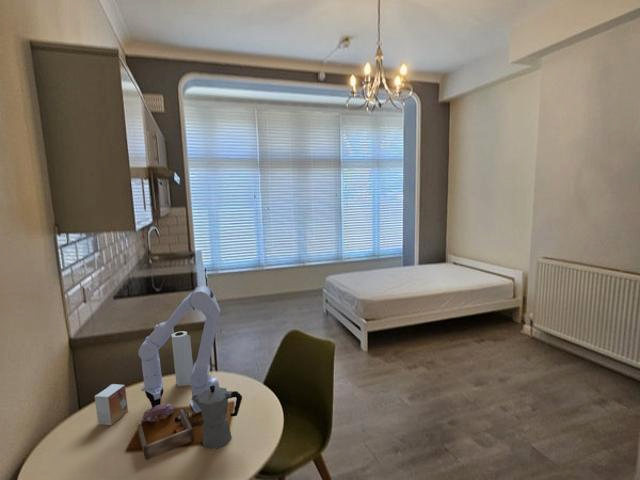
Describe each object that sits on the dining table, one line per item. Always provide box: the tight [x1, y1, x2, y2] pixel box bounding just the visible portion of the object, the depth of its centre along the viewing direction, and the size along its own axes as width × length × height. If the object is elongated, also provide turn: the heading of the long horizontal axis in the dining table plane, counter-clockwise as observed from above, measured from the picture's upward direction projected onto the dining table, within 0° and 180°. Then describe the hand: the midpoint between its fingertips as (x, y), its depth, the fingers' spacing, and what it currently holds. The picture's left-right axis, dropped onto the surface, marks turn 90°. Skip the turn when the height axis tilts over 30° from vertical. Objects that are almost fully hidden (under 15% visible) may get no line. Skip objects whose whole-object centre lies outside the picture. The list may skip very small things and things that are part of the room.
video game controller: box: [142, 403, 175, 423], centre depth 121 cm, size 10×5×7 cm, turn 118°
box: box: [137, 408, 195, 461], centre depth 112 cm, size 14×13×4 cm
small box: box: [94, 383, 129, 426], centre depth 123 cm, size 8×6×10 cm
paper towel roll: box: [170, 330, 194, 387], centre depth 143 cm, size 7×6×21 cm
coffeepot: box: [191, 385, 243, 450], centre depth 109 cm, size 15×9×18 cm, turn 94°
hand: (156, 408), depth 126 cm, fingers closed
